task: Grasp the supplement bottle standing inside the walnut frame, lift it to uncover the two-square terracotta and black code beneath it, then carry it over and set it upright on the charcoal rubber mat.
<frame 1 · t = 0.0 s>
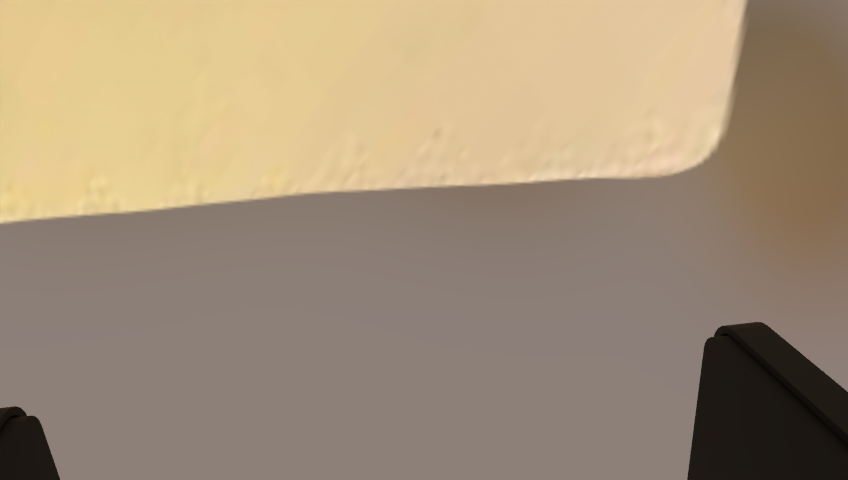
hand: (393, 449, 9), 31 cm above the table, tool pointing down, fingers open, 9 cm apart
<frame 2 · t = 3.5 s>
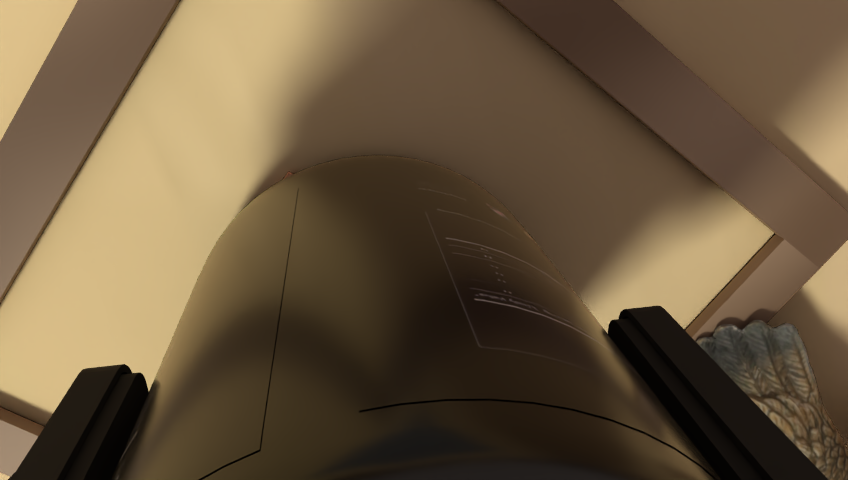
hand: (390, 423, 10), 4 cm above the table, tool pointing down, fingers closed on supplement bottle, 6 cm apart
supplement bottle: (377, 304, 13), on the table, touching code frame, gripper
code frame: (377, 307, 13), on the table
eagle figurine: (812, 432, 16), on the table, touching code frame
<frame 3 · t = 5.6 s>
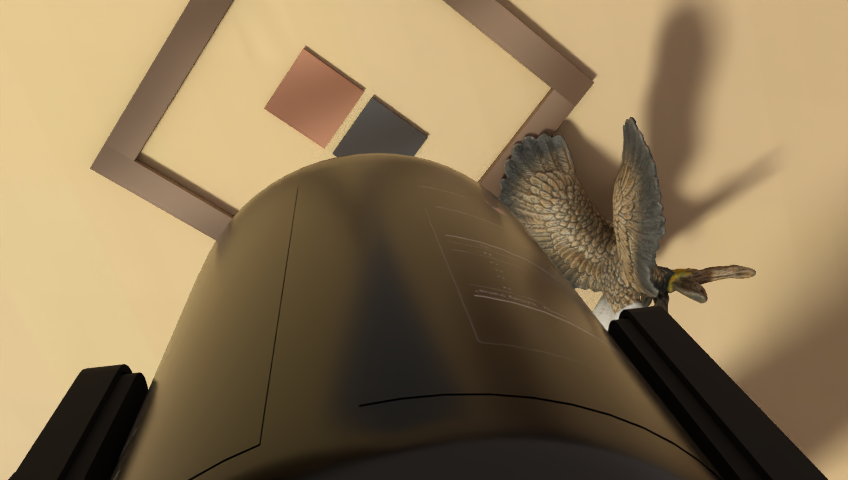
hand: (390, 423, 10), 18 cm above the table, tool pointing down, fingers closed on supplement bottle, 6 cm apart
supplement bottle: (377, 303, 13), point 15 cm above the table, touching gripper
code frame: (347, 122, 26), on the table
eagle figurine: (588, 208, 29), on the table, touching code frame
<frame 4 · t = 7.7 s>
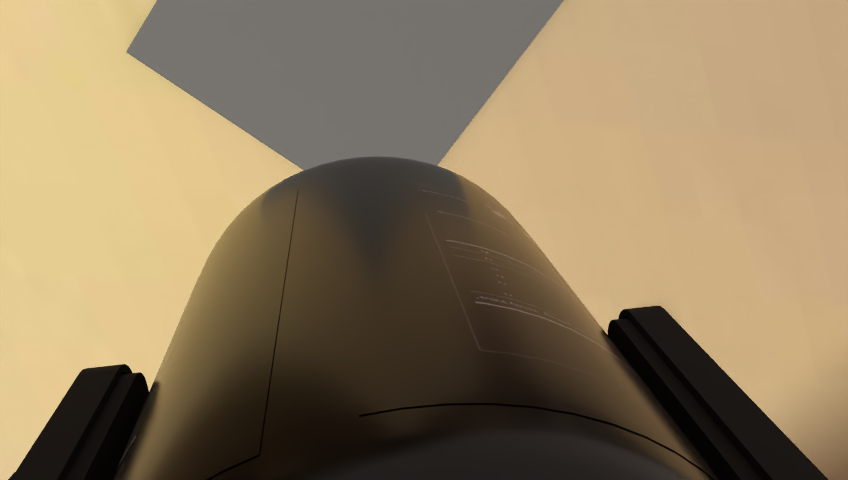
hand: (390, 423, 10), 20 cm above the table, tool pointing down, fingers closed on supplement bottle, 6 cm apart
supplement bottle: (377, 306, 13), point 16 cm above the table, touching gripper
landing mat: (354, 17, 27), on the table
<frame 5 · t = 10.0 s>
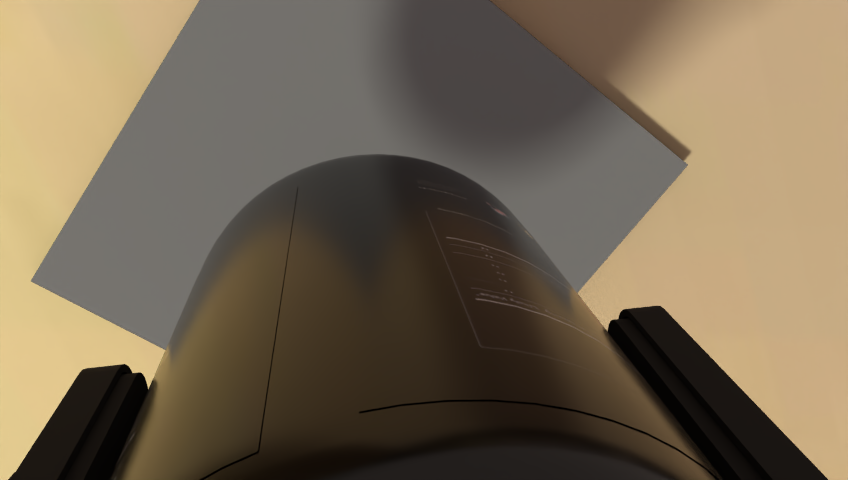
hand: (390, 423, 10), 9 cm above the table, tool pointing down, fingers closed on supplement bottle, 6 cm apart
supplement bottle: (377, 304, 13), point 5 cm above the table, touching gripper
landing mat: (367, 217, 18), on the table
when the fingers open (5 cm above the table, at t = 11.8 s): supplement bottle drops 1 cm, resting on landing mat.
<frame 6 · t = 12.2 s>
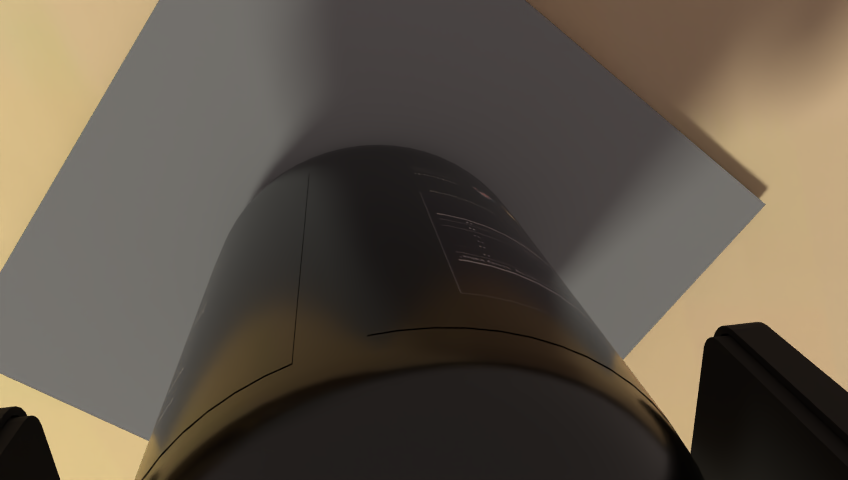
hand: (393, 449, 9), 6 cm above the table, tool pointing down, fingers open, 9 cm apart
supplement bottle: (377, 280, 15), resting on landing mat
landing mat: (373, 270, 15), on the table
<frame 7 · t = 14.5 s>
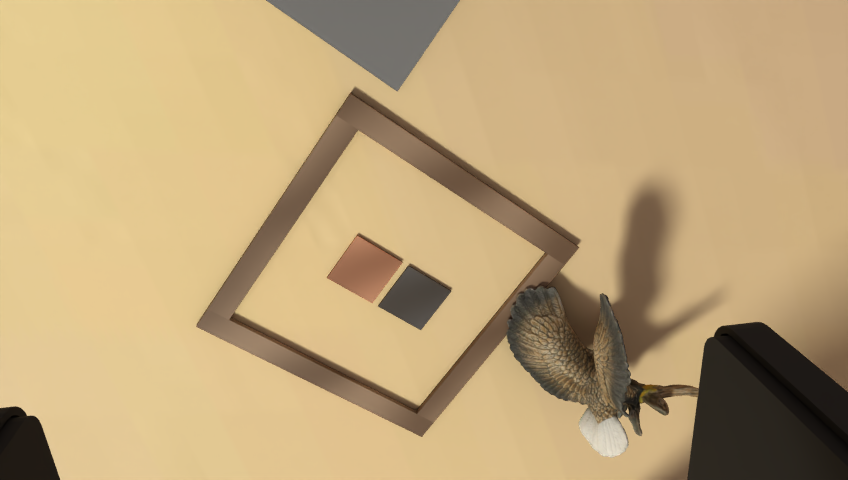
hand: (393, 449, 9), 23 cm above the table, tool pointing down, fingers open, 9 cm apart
code frame: (390, 283, 35), on the table
eagle figurine: (577, 334, 37), on the table, touching code frame
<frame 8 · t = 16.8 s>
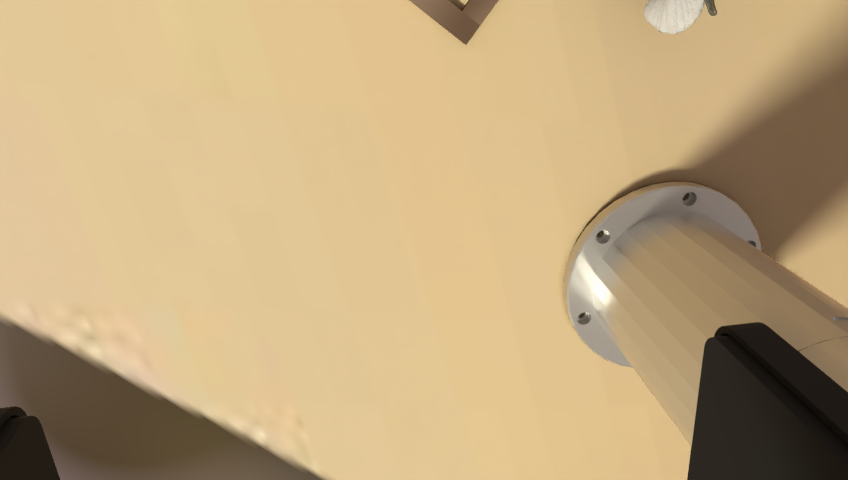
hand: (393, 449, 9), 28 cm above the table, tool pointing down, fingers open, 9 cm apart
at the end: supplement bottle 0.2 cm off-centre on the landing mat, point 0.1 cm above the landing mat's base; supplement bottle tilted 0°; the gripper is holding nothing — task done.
